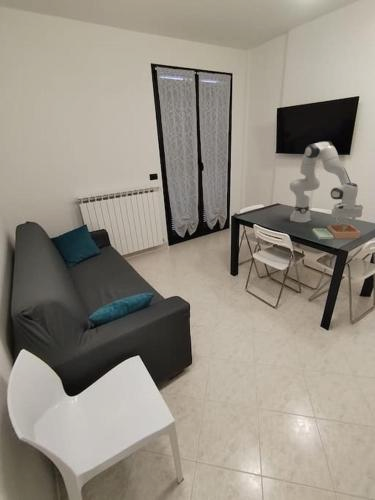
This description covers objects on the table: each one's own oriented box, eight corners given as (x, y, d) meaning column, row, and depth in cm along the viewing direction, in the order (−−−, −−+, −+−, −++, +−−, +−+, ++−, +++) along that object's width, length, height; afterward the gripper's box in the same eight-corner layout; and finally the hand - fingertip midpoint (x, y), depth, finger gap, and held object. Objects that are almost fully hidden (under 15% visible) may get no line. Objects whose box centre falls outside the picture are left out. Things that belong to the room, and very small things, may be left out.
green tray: (312, 232, 204) (312, 228, 203) (325, 231, 202) (325, 228, 201) (318, 240, 188) (319, 236, 187) (333, 240, 186) (333, 236, 185)
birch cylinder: (338, 233, 194) (340, 224, 191) (344, 233, 193) (345, 223, 190) (340, 235, 191) (342, 225, 187) (346, 235, 190) (348, 225, 187)
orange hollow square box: (326, 231, 202) (327, 225, 199) (349, 231, 198) (350, 224, 196) (334, 239, 187) (335, 232, 184) (358, 239, 183) (360, 232, 181)
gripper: (361, 203, 183) (357, 221, 189) (331, 204, 187) (329, 222, 193) (365, 205, 177) (361, 223, 183) (334, 207, 181) (331, 224, 187)
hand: (344, 222), depth 188 cm, fingers open, 8 cm apart
